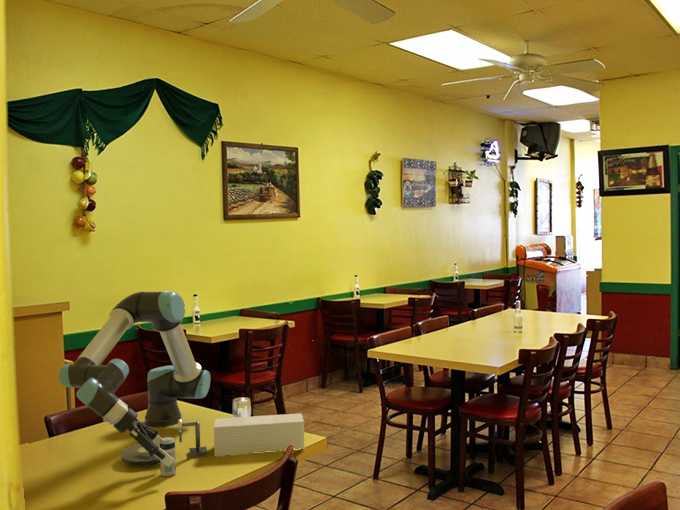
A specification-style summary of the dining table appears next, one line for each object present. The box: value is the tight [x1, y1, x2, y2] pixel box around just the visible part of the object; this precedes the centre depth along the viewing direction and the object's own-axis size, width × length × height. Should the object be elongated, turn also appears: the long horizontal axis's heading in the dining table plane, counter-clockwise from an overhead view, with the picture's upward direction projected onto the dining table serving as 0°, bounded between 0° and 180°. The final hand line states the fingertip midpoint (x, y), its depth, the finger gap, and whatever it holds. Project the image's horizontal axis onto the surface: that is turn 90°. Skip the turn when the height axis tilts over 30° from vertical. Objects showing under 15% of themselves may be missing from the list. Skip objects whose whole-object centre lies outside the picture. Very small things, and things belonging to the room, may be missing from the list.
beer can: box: [159, 436, 177, 478], centre depth 208 cm, size 5×5×12 cm
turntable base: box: [127, 462, 160, 468], centre depth 223 cm, size 14×14×1 cm
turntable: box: [120, 442, 160, 465], centre depth 223 cm, size 18×18×2 cm
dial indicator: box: [177, 419, 208, 459], centre depth 226 cm, size 6×10×13 cm, turn 104°
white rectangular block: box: [213, 413, 306, 457], centre depth 231 cm, size 32×11×11 cm, turn 98°
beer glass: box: [232, 396, 252, 418], centre depth 244 cm, size 7×7×15 cm
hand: (170, 456), depth 207 cm, fingers open, 13 cm apart
